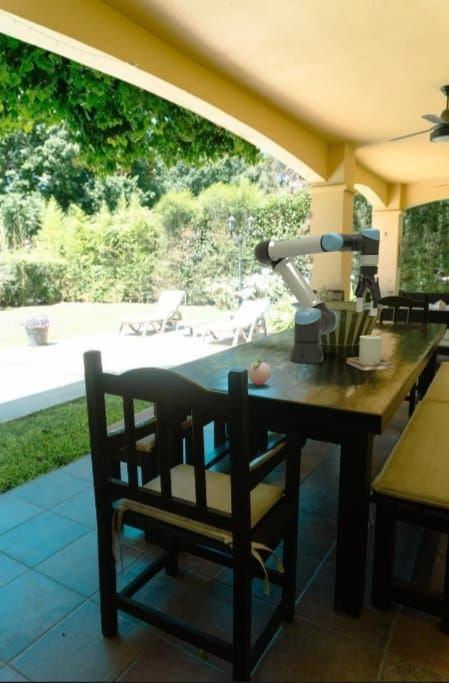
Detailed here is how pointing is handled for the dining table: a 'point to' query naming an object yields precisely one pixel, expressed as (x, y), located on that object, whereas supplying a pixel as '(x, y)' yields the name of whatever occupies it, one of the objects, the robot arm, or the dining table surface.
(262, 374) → the decorative fruit
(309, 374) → the dining table surface
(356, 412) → the dining table surface
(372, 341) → the can
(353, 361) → the coaster board
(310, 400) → the dining table surface
